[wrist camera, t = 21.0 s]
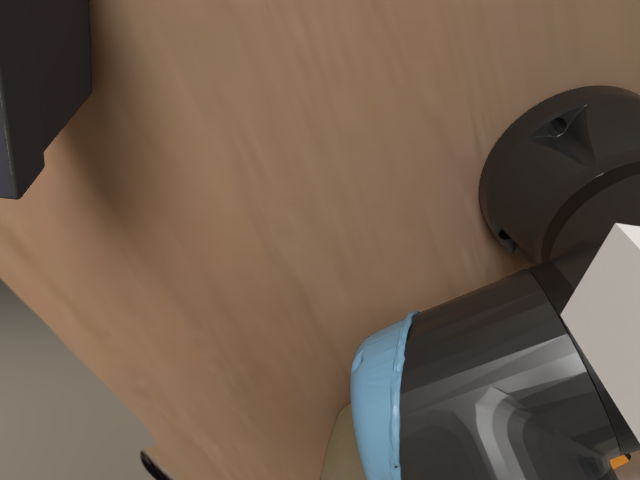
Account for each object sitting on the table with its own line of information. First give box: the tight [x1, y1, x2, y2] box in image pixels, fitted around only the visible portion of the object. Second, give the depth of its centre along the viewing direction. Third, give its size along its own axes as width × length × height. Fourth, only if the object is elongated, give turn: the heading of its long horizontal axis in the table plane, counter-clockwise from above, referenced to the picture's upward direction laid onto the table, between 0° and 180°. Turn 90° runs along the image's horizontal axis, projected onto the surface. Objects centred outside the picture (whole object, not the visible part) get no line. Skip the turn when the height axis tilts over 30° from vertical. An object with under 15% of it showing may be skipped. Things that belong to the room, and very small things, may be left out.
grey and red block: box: [0, 0, 92, 200], centre depth 29 cm, size 11×4×15 cm, turn 169°
